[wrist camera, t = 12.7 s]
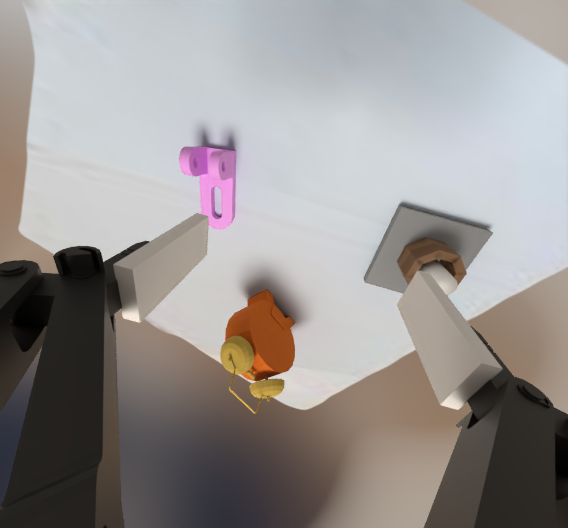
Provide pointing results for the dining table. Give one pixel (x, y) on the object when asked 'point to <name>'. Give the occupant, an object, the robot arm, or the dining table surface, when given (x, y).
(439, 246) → the collar
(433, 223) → the post
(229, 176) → the bracket
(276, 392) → the alarm clock
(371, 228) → the dining table surface
